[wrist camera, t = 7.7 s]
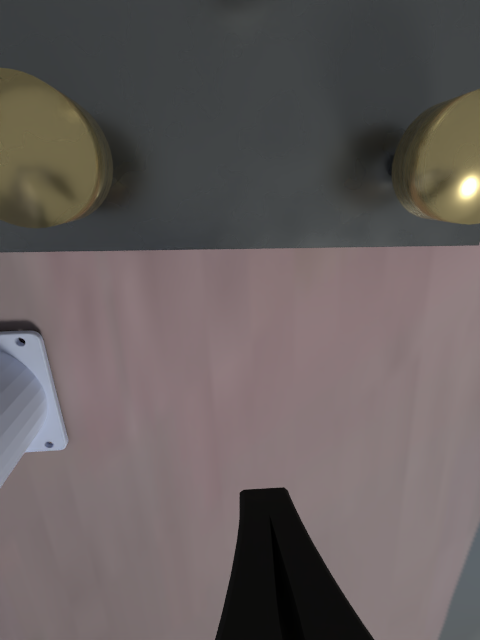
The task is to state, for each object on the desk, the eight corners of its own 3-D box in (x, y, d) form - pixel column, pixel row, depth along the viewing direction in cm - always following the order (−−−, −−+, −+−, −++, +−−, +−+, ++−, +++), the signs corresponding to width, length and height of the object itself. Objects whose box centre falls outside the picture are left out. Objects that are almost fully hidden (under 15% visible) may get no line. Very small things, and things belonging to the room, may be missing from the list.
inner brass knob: (36, 216, 14) (-34, 229, 10) (10, 104, 12) (-84, 65, 8) (133, 215, 14) (105, 227, 10) (121, 106, 13) (81, 70, 9)
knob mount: (11, 244, 16) (-14, 252, 14) (-113, -233, 10) (-182, -323, 9) (450, 239, 18) (478, 245, 16) (548, -165, 12) (608, -226, 11)
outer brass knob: (358, 214, 15) (413, 225, 11) (371, 112, 13) (441, 81, 9) (441, 214, 15) (523, 224, 11) (463, 114, 14) (567, 85, 10)
